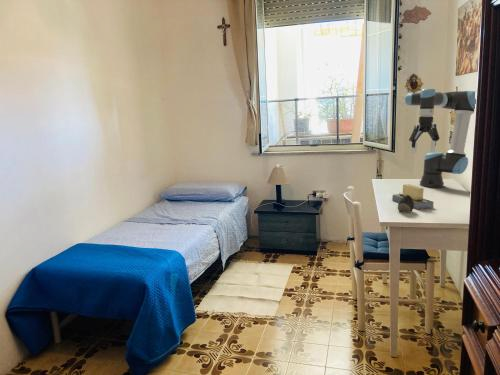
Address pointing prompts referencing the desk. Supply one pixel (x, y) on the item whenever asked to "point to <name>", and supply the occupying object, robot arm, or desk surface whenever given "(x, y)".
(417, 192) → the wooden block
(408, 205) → the stone
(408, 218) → the desk surface
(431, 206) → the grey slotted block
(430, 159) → the robot arm
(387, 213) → the desk surface
